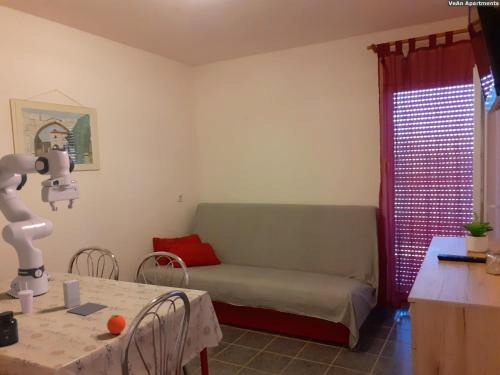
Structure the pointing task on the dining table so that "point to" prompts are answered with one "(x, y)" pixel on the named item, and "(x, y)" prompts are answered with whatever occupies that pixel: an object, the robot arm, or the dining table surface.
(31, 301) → the smoothie
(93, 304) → the mat
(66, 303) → the skincare box
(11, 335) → the supplement bottle
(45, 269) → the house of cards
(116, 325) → the clementine
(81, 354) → the dining table surface
